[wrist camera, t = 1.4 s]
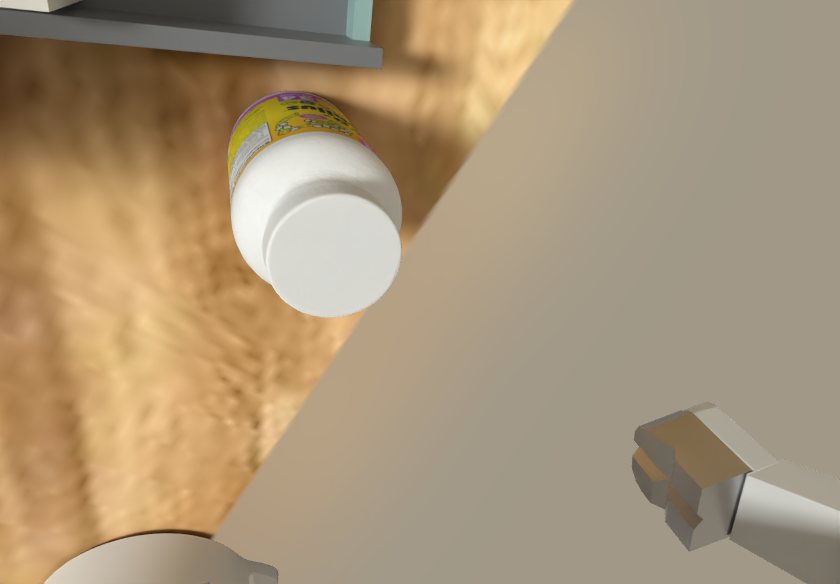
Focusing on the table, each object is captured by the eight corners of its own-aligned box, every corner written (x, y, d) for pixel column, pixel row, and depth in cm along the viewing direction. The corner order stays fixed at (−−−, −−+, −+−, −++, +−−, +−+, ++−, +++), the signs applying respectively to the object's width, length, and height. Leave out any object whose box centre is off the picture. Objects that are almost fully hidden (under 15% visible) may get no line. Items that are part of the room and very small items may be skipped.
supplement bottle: (380, 140, 31) (468, 236, 20) (308, 234, 32) (355, 369, 22) (275, 57, 27) (315, 121, 17) (199, 166, 29) (193, 290, 18)
